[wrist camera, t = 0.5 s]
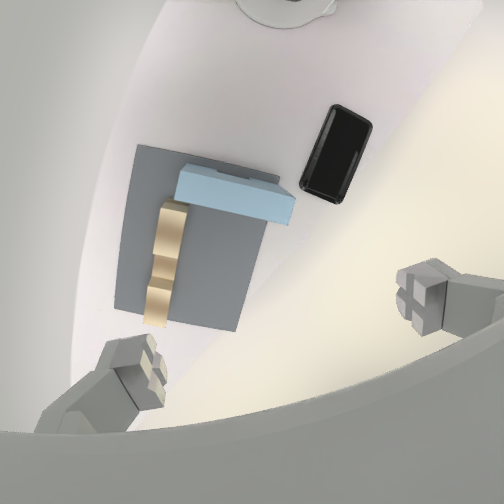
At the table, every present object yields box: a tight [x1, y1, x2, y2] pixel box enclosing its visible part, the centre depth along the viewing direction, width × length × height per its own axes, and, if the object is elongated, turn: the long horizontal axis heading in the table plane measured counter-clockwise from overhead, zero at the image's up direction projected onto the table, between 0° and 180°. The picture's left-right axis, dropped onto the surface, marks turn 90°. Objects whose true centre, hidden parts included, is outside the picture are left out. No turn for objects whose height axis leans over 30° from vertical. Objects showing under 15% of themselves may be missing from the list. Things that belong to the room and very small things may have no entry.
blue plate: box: [174, 163, 296, 225], centre depth 43 cm, size 4×14×11 cm, turn 75°
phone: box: [299, 104, 373, 204], centre depth 48 cm, size 8×1×15 cm
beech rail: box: [143, 198, 190, 328], centre depth 47 cm, size 18×4×7 cm, turn 165°
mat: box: [114, 145, 280, 332], centre depth 51 cm, size 28×22×1 cm
